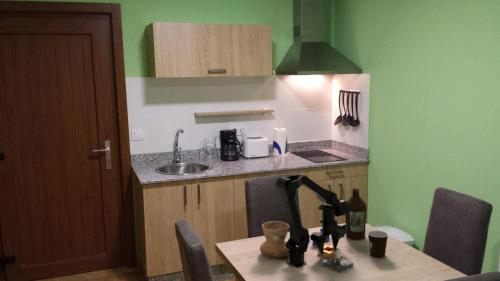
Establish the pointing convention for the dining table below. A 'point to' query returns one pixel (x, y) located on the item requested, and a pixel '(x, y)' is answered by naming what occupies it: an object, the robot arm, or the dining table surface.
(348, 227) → the brown bottle
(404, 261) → the dining table surface
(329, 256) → the wooden square frame
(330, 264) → the post
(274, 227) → the ceramic jug
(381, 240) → the coffee mug
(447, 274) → the dining table surface
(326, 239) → the cable clip
